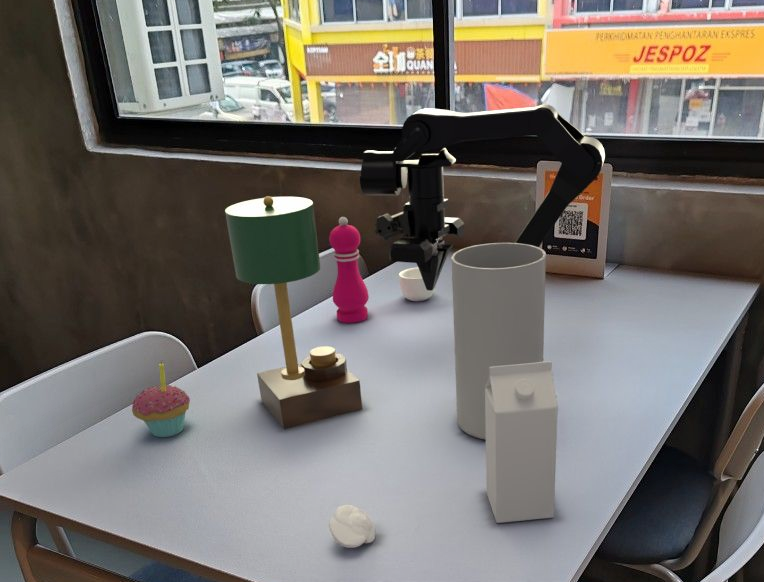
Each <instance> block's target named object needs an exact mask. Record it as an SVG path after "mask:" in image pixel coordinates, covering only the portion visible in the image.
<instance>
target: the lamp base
mask: <svg viewBox="0 0 764 582" xmlns="http://www.w3.org/2000/svg"><path fill="white" fill-rule="evenodd" d="M335 354H336V363H334V364H333V365H329V366H325V367H316V366H312V365H311V359H310V355H308V356H307V357H305V358H303V359H302V361H301V362H300V363H298V366H300V367H303V368H304V369H305V376H304V377H303V378H300V379H297V380H285V379H283V378H282V376H281V371H282V370H283V369H285V368H286V366H283V367H278V368H275V369H269V370H265V371H261V372H257V373H256V375H257V376H256V377H257V383H258V389H259V394H260V400H261V403H262V404H263V405H264V406H265V408H266V409H267V410H268V411H269V412H270V414H271V415H272V416H273V418H274V419H275V420H276V421H277V423H278V424H279V425H280V426H281V427H282V429H283V430H288V429H292V428H295V427H299V426H303V425H307V424H311V423H314V422H318V421H322V420H326V419H327V420H328V419H330V418H334V417H338V416H339V417H340V416H342V415H347V414H350V413H355V412H358V411H361V410H363V403H362V402H363V401H362V391H361V382H360V381H361V380H360V379H358V377H357V376H355V375H354V374H353V373H351V372H350V371H349V370H348V364H347V358H346V356H344V355H343V354H342V353H337V352H335Z"/></svg>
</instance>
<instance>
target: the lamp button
mask: <svg viewBox="0 0 764 582" xmlns="http://www.w3.org/2000/svg"><path fill="white" fill-rule="evenodd" d="M335 353H336V349H335V347H332V346H328V345H327V346H326V345H325V346H323V345H322V346H317V347H314V348H312V349H310V351H309V356H310V359H311V365H312V366H316V367H325V366H329V365H333V364H334V363H336V354H335Z"/></svg>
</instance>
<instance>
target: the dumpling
mask: <svg viewBox="0 0 764 582" xmlns="http://www.w3.org/2000/svg"><path fill="white" fill-rule="evenodd" d="M328 528H329V531H330V534H331V536H332V538H333V539H334V544H336V543H337V544H338V545H339V546H341V547H343V548H347V549H355V548H359V547H360V546H362V545H363V544H371V543H372V542H374V540H375V539H376V534H377V533H376V531H377V530H376V527H375V525H374V523H373V521H372V519H371V518H370V516H369V515H368V514H367V513H366V512H365V511H364V510H363V509H361V508H359V507H356V506H354V505H352V504H344V505H340V506H338V508H336V510H335V511H334V513H333V517H332V518H331V519H330V520H329V523H328Z"/></svg>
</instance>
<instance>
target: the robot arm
mask: <svg viewBox="0 0 764 582" xmlns="http://www.w3.org/2000/svg"><path fill="white" fill-rule="evenodd" d="M532 136H536V137H537V138H538V139H539V140H540V141H541V142H542V143H543V145H545V147H546V148H547V150H549V151H550V153H551V154H552V155H553V156H554V157H555V158H556V159H557V161H559V162H560V163H561V164H560V166H559V168H558V171H557V173H556V175H555V177H554V180H553V182H552V184H551V187H550V189H549V190H548V192H547V193H546V195H545V196H544V198H543V200H542V201H541V202H540V204H539V206H538V207H537V208H536V210H535V212H534V213H533V215H532V216H531V217H530V219H529V221H528V222H527V224H526V225H525V227H524V228H523V229H522V231H521V233H520V234H519V235H518V237H517V238H516V240H515V241H514V243H520V244H527V245H532V246H536V247H539V248H540V246H541V245H542V243H543V242H544V240H546V238H547V236H548V235H549V233H550V232H551V231H552V229H553V227H554V226H555V225H556V223H557V222H558V220H559V219H560V218H561V216H562V215H563V213H564V212H565V210H566V209H567V207H568V206H569V205H570V204H572V202H574V201H575V199H577V198H578V197H579V196H580V195H581V194H582V193H583V192H584V191H585V190H586V189H587V188H588V187H589V186H590V185H591V184H592V183H593V182H594V181H595V180H596V179H597V178H598V176H599V175H600V173H601V171H602V168H603V165H604V162H605V158H606V153H605V148H604V147H603V144H602V142H600V141H599V140H598V139H597V138H595V137H592V136H585V135H584V134H583V133H582V132H581V131H580V130H579V129H578V128H577V127H576V126H574V125H573V124H572V123H570V121H568V120H567V119H565V118H564V117H563V116H562V115H561V114H560V113H559V112H558V111H557V110H556V108H555V107H554V106H553V105H550V104H547V103H543V104H539V105H537V106H529V107H518V108H508V109H496V110H485V111H474V112H460V111H453V110H449V109H440V108H431V107H425V108H422V109H420V110H418V111H416V112H414V113H412V114H410V115H409V116H408V117H407V118H406V119H405V120H404V122H403V124H402V127H401V138H400V140H399V142H398V144H396V147H395V148H394V150H392V151H391V150H390V151H388V150H387V151H378V150H373V149H372V150H370V149H369V150H368V149H367V150H365V151H363V152H362V161H361V169H360V175H359V184H360V190H361V193H362V194H363V195H364V196H399V195H400V194H401V192H402V190H405V189H406V187H407V189H408V202H406V203H404V205H403V207H402V211H401V212H397V213H395V214H392V215H391V214H389V213H385V214H383V215H379V216H377V217H376V218H375V224H374V226H375V230H374V233H375V234H376V235H378V236H379V237H380V238H382V242H387V241H389V240H390V239H392V238H395V237H397V236H400V235H402V236H403V237H401V238H400V239H398V240H396V241H394V242H393V243H392V244H391V245H390V246H389V247H388V260H389V261H390V262H395V263H409V264H411V263H412V264H416V266H417V268H419V270H420V273H421V276H422V279H423V281H424V284H425V287H426V289H427V290H429V291H432V290H433V289H434V288H435V289H436V285H437V283H438V280H439V278H440V275H441V272H442V270H443V267H444V265H445V263H446V260H447V258H448V255H449V253H450V252H451V249H452V248H453V244H451V243H445V239H443V237H445V236H447V235H454V237H455V238H456V239H460V238H461V237H463V236H464V235H465V234H466V233H465V223H464V221H463V220H462V219H461V218H460V217H447V216H446V215H445V209H446V208H447V207H449V204H450V203H449V198H445V182H444V168H449V167H452V166H453V165H454V164H455V163H456V161H457V159H456V158H455V157H454V156H453V155H452V154H451V153H449V152H448V150H447V148H446V147H449V146H452V145H455V144H458V143H462V142H470V141H472V142H473V141H484V140H495V139H509V138H520V137H532ZM440 149H441V150H440ZM437 150H440V151H439V152H438V153H428V152H432V151H437ZM414 154H420V156H419V158H418V159H408V158H410V157H412V156H413V155H414ZM445 216H446V217H445Z"/></svg>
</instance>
